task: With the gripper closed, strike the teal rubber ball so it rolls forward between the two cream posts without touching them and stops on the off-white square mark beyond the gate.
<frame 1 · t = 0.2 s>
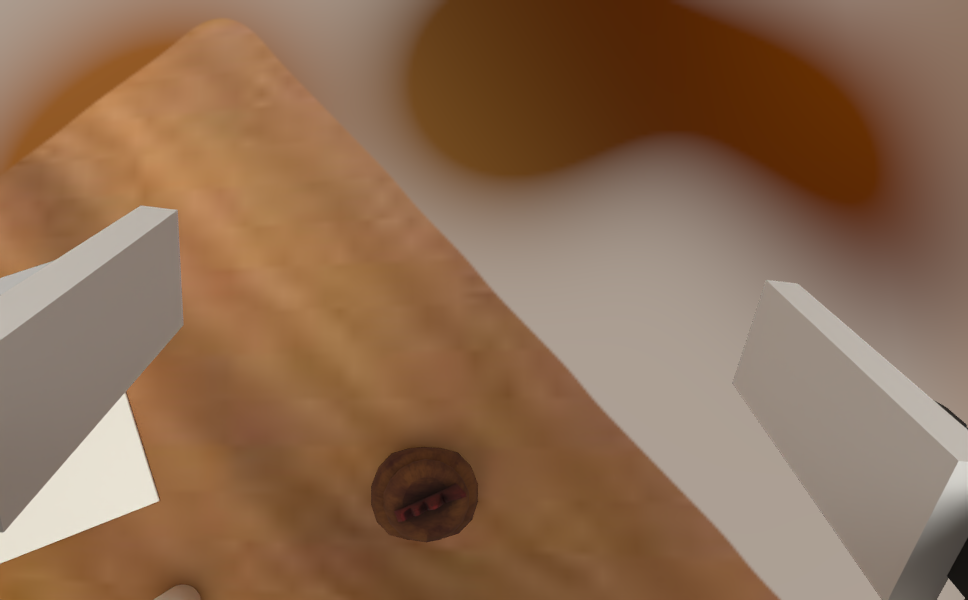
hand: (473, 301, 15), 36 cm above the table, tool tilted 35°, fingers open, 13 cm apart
wooden figurine: (423, 487, 49), on the table
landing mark: (26, 442, 46), on the table
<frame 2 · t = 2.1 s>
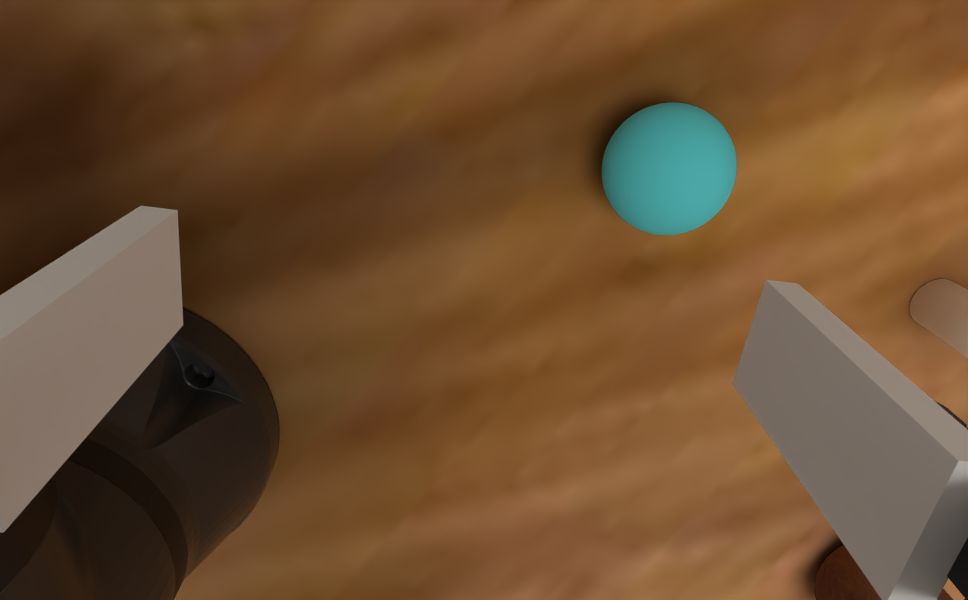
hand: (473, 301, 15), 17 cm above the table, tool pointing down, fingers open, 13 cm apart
wooden figurine: (848, 561, 42), on the table
ball: (667, 170, 29), on the table
post 1: (935, 302, 35), on the table
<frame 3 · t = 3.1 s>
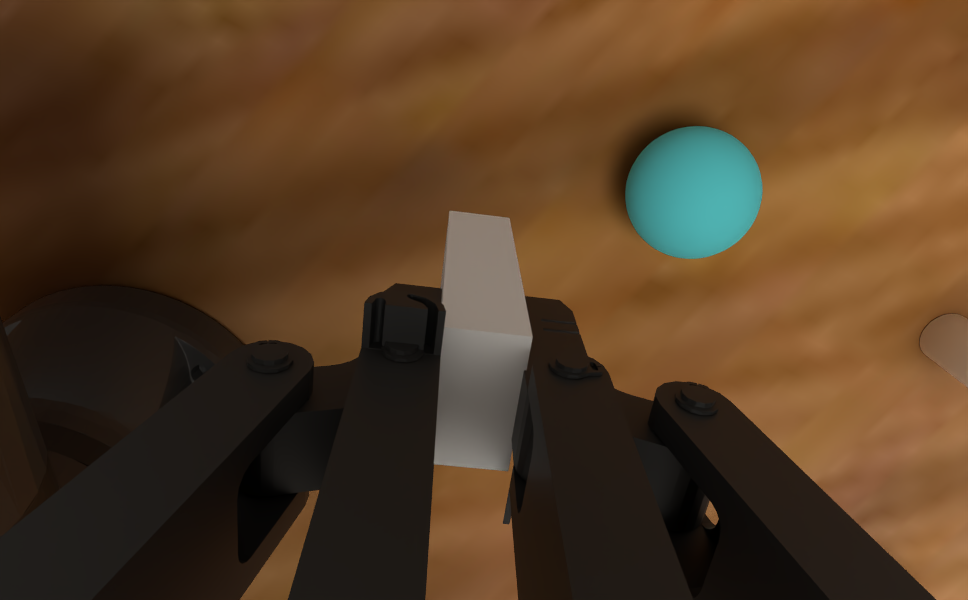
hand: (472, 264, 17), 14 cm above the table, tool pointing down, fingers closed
ball: (691, 193, 29), on the table
post 1: (945, 336, 35), on the table
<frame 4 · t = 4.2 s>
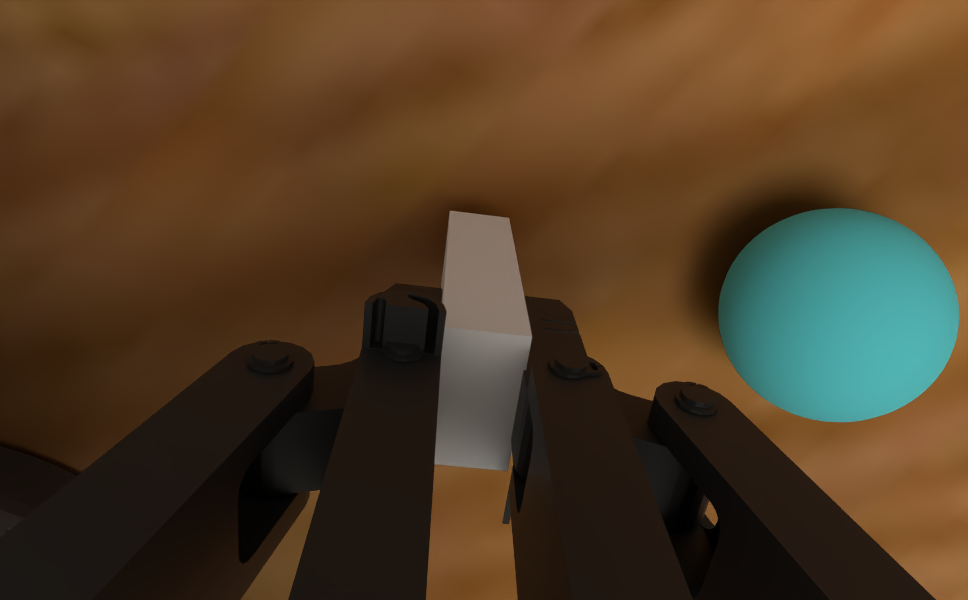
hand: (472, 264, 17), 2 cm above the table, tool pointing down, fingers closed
ball: (830, 314, 18), on the table
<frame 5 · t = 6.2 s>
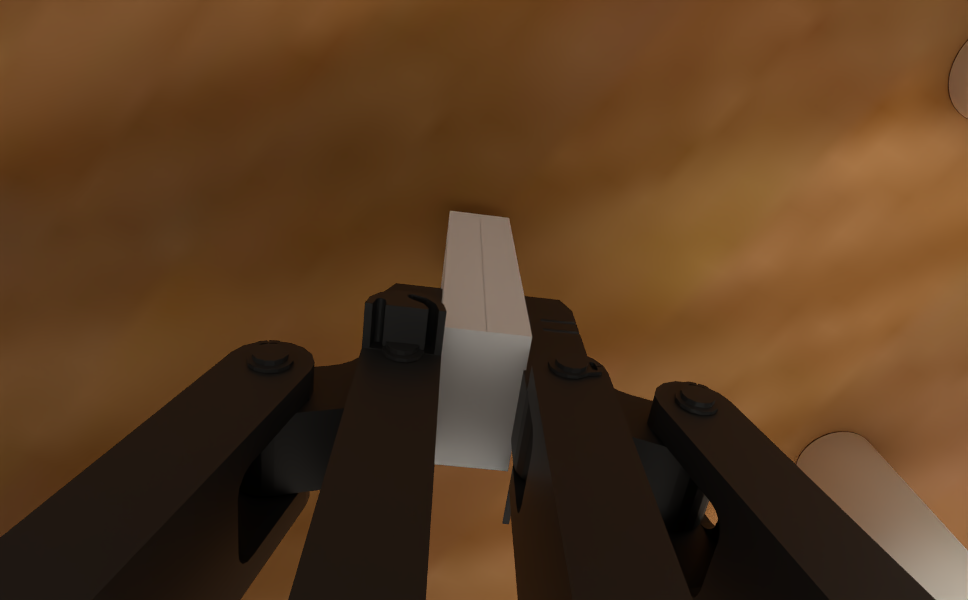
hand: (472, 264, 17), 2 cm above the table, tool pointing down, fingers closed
post 1: (834, 464, 23), on the table
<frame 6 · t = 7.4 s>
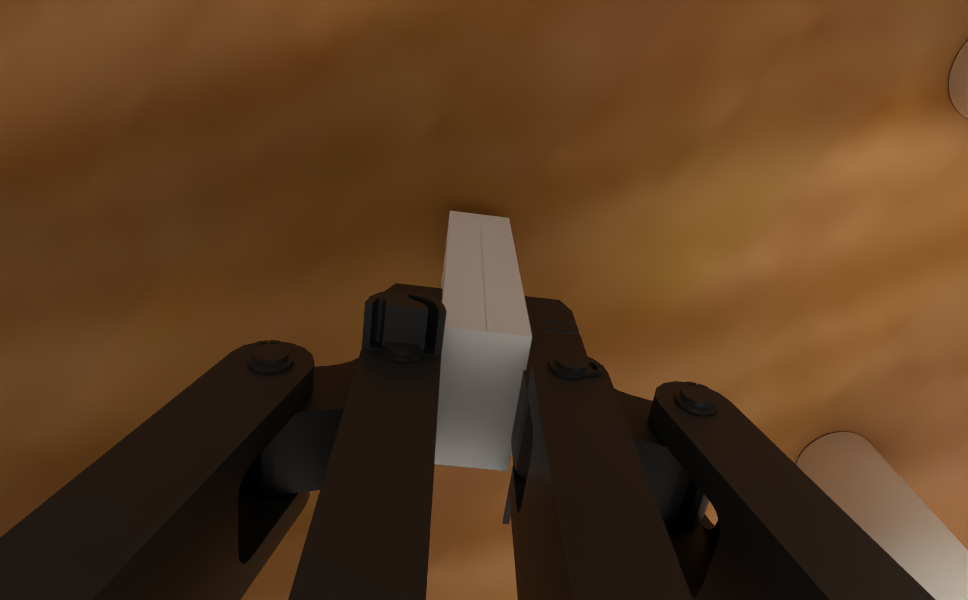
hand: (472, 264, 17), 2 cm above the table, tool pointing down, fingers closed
post 1: (834, 464, 23), on the table
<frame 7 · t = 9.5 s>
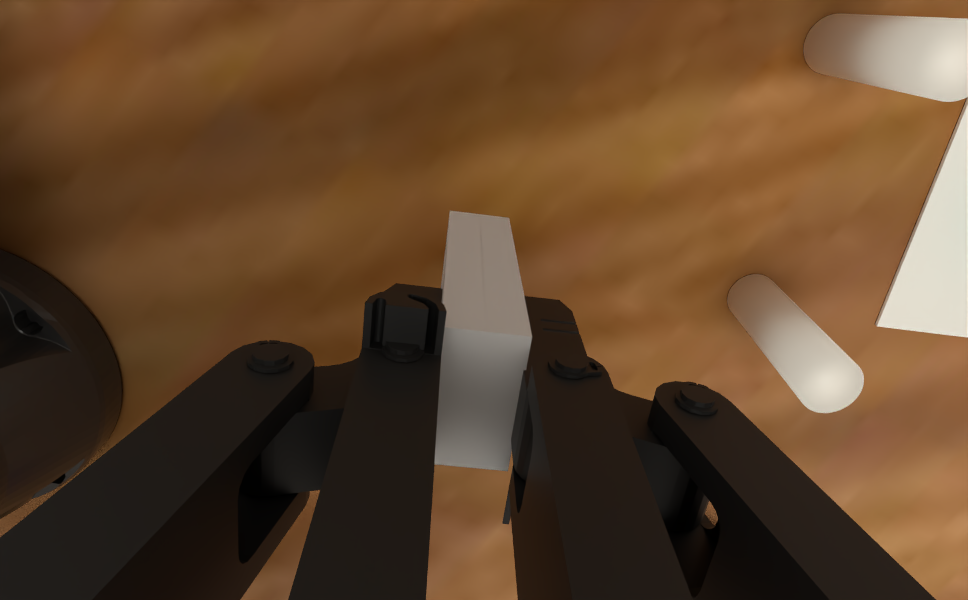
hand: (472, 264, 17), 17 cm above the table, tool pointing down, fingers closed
post 2: (832, 44, 31), on the table
post 1: (752, 296, 36), on the table
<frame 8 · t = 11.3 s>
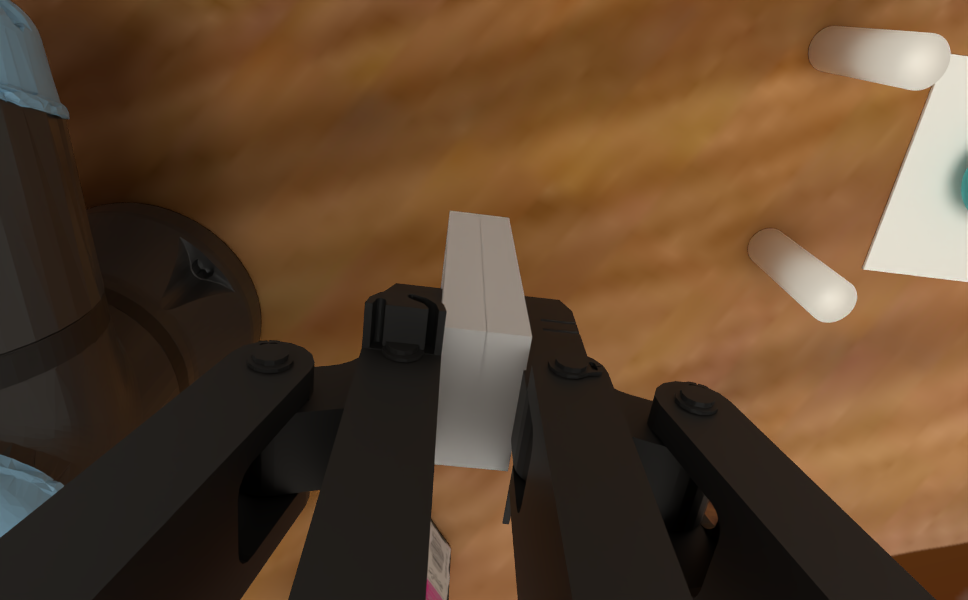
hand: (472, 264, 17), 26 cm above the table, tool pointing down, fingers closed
post 2: (830, 49, 41), on the table
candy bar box: (378, 549, 56), on the table
post 1: (767, 246, 46), on the table
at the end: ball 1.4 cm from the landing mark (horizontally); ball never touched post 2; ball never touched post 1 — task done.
